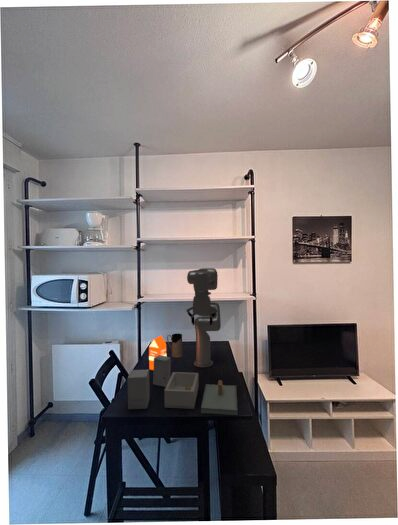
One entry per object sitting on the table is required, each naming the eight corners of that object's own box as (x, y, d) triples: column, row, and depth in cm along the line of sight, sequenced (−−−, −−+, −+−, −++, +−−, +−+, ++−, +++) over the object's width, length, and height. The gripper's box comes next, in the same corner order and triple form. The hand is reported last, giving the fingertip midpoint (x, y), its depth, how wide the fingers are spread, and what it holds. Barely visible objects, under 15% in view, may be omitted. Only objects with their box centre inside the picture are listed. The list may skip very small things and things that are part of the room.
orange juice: (149, 369, 162) (148, 338, 162) (157, 364, 170) (156, 334, 170) (159, 371, 158) (158, 339, 158) (166, 366, 166) (166, 335, 166)
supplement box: (150, 398, 126) (149, 368, 126) (147, 409, 118) (146, 377, 118) (132, 399, 126) (131, 369, 126) (127, 409, 117) (127, 377, 117)
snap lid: (205, 388, 136) (205, 374, 136) (236, 389, 134) (236, 376, 134) (201, 413, 114) (200, 396, 114) (237, 415, 112) (237, 398, 112)
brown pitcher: (177, 358, 179) (177, 337, 179) (163, 354, 188) (163, 334, 188) (185, 354, 186) (185, 334, 186) (171, 350, 195) (171, 331, 195)
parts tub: (173, 386, 138) (173, 372, 138) (198, 387, 137) (198, 372, 137) (164, 407, 119) (164, 390, 119) (194, 408, 117) (193, 391, 117)
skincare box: (152, 384, 141) (152, 358, 141) (158, 380, 147) (158, 354, 147) (165, 387, 138) (165, 360, 138) (171, 382, 143) (171, 356, 143)
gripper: (217, 293, 144) (217, 323, 144) (187, 293, 145) (187, 322, 145) (216, 295, 136) (217, 326, 136) (185, 295, 138) (185, 326, 138)
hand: (202, 324), depth 141 cm, fingers open, 9 cm apart
